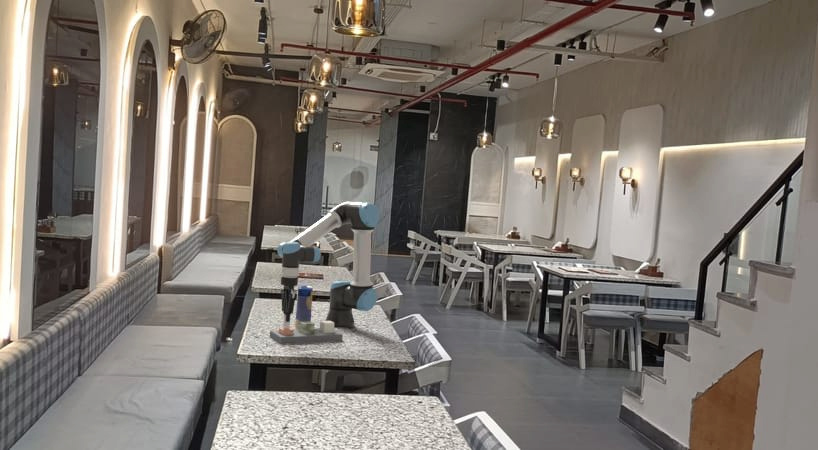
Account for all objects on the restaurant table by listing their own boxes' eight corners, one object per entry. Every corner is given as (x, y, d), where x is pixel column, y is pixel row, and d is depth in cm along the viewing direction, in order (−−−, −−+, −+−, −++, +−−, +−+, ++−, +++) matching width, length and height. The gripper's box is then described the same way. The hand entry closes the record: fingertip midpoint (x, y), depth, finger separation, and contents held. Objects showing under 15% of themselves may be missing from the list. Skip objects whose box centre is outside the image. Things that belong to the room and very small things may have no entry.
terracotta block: (288, 338, 327) (289, 327, 327) (292, 340, 323) (293, 329, 323) (278, 338, 325) (279, 327, 324) (282, 341, 320) (283, 330, 320)
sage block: (309, 332, 332) (310, 321, 332) (313, 334, 328) (314, 323, 328) (299, 332, 330) (300, 321, 329) (303, 334, 325) (304, 324, 325)
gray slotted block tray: (329, 336, 343) (330, 327, 342) (342, 342, 331) (342, 334, 330) (269, 339, 327) (270, 330, 327) (280, 346, 315) (281, 337, 315)
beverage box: (308, 330, 352) (311, 286, 351) (309, 335, 341) (312, 289, 340) (294, 329, 351) (297, 285, 350) (295, 334, 340) (298, 288, 339)
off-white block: (329, 331, 337) (330, 320, 337) (333, 333, 333) (334, 322, 333) (319, 331, 335) (320, 321, 335) (323, 333, 331) (324, 323, 330)
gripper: (276, 274, 326) (273, 325, 327) (287, 278, 315) (283, 331, 316) (292, 274, 330) (288, 325, 331) (303, 278, 318) (299, 331, 320)
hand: (286, 328), depth 323 cm, fingers closed
